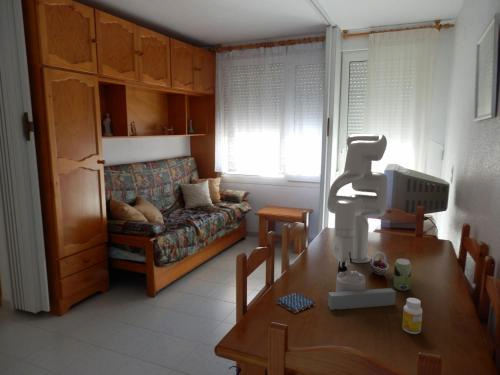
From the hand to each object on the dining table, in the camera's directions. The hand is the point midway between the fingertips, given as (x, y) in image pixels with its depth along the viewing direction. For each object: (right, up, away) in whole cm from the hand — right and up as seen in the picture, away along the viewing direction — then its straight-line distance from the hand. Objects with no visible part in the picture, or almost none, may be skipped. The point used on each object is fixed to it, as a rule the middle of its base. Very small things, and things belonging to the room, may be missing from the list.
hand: (342, 276), depth 146 cm
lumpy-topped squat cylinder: (+1, -6, -7) cm, 9 cm away
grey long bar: (+3, -7, -16) cm, 17 cm away
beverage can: (+23, -5, -2) cm, 23 cm away
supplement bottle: (+14, -9, -31) cm, 36 cm away
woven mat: (-21, -7, -15) cm, 27 cm away
